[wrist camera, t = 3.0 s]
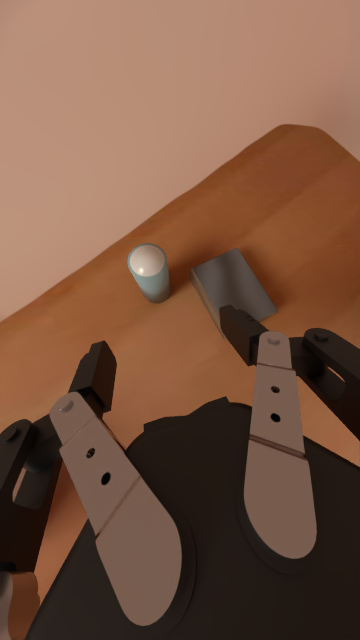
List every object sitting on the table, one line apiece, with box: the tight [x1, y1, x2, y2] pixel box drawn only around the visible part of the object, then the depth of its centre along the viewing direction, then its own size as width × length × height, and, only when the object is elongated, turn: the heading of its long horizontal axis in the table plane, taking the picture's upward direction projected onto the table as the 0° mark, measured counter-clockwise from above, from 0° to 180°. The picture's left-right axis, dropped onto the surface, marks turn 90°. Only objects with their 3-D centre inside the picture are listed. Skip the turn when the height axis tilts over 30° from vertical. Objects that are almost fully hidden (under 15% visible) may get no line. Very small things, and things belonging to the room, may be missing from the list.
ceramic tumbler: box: [128, 243, 171, 303], centre depth 26 cm, size 5×5×10 cm
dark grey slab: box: [190, 248, 278, 339], centre depth 29 cm, size 9×13×4 cm
